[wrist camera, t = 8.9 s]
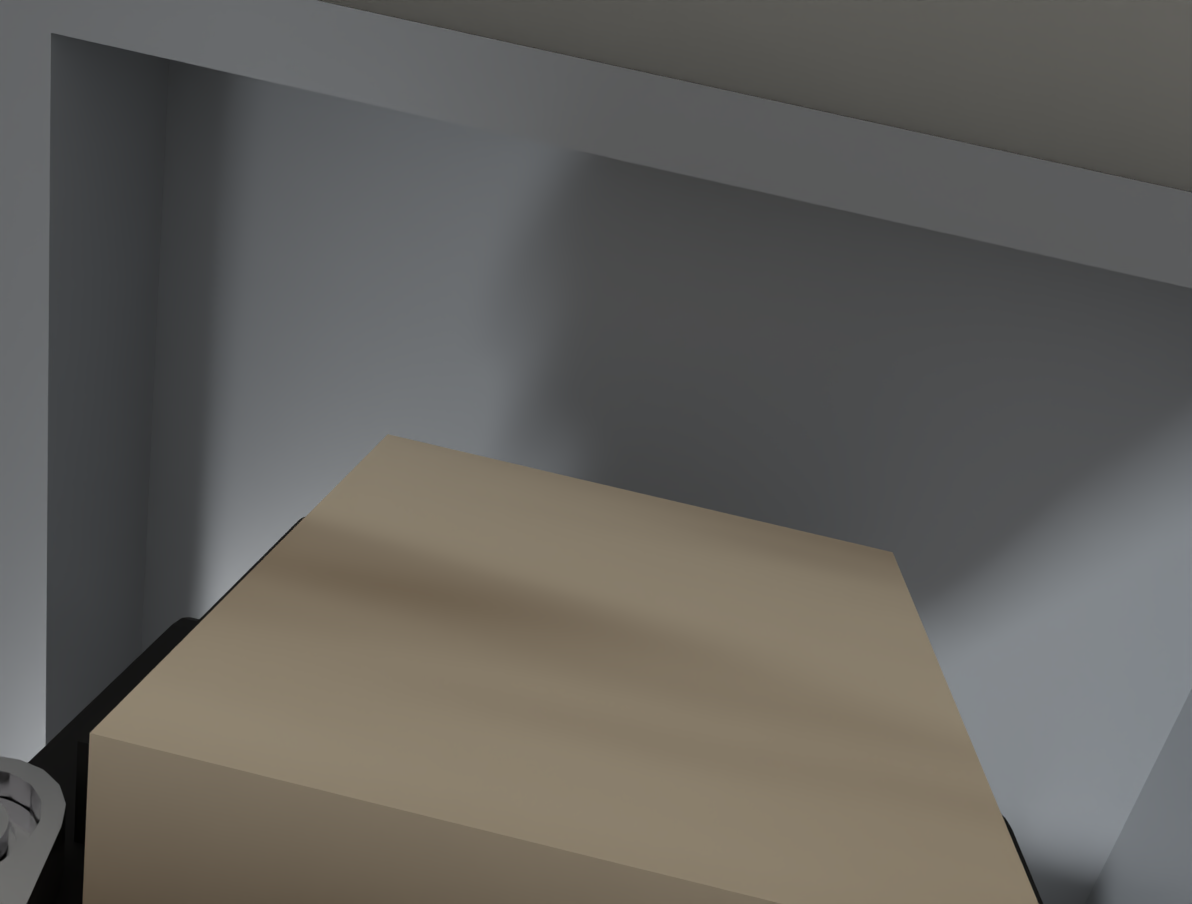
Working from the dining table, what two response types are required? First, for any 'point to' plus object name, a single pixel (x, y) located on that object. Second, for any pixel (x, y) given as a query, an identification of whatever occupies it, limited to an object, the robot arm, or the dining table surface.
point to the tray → (596, 359)
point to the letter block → (545, 714)
